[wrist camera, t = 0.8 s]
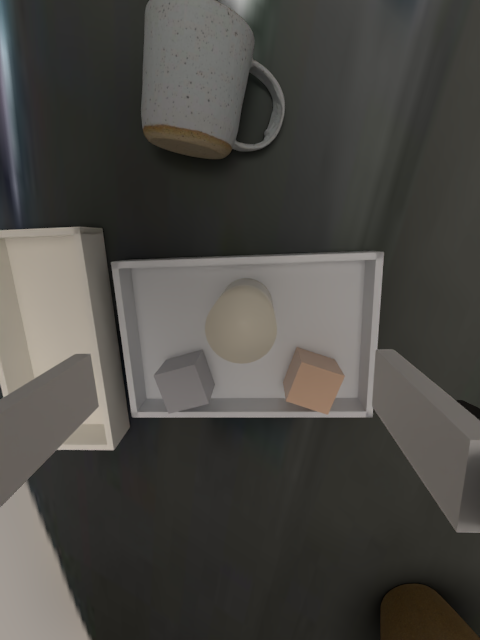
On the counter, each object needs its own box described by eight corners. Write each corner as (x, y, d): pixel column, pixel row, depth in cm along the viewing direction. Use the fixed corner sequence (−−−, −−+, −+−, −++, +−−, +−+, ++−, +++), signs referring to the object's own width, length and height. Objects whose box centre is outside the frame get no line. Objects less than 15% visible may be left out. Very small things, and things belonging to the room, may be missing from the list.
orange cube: (296, 346, 32) (301, 361, 28) (334, 359, 32) (345, 376, 28) (282, 381, 33) (285, 401, 29) (319, 394, 33) (327, 414, 29)
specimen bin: (0, 232, 31) (-37, 231, 27) (102, 228, 30) (79, 226, 26) (42, 426, 36) (16, 449, 32) (129, 427, 35) (113, 450, 32)
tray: (124, 259, 31) (110, 261, 28) (371, 250, 29) (383, 252, 26) (142, 402, 35) (131, 417, 32) (362, 401, 33) (372, 417, 30)
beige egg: (219, 278, 30) (202, 295, 22) (272, 277, 30) (276, 293, 21) (222, 329, 32) (207, 364, 23) (272, 328, 31) (277, 363, 23)
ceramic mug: (155, 155, 28) (120, 126, 21) (164, 47, 26) (128, -28, 19) (273, 174, 28) (279, 152, 21) (291, 67, 26) (305, 1, 19)
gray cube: (166, 359, 33) (153, 375, 29) (202, 349, 32) (194, 364, 28) (179, 393, 34) (168, 413, 30) (215, 384, 33) (209, 403, 29)
